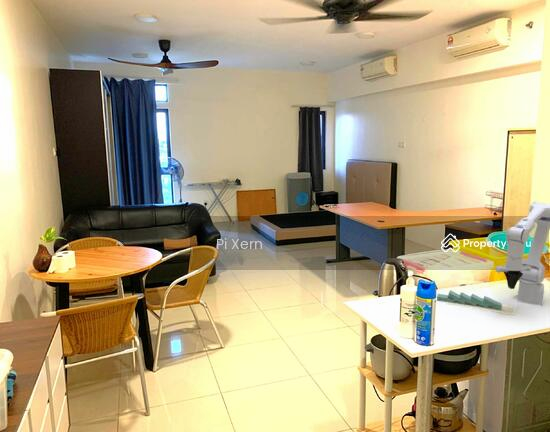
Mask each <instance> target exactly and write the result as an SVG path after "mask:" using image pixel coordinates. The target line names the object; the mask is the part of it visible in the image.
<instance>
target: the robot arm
mask: <svg viewBox="0 0 550 432" xmlns="http://www.w3.org/2000/svg"><path fill="white" fill-rule="evenodd" d="M528 209H529V211H528V212H529V213H528V214H527V216H526V217H522V218H521V219H520V220H519V221H518V222H517V223H516V224H515V225H514V226H511V227H509V228H508V229H507V232H506V235H505V236H506V238H505V239H506V245H507V251H506V252H507V253H506V259H505V264H504V265H500V266H495V273H497V274H499V273H503V274H504V276H505V279H506V281H507V282H506V283H507V287H508V289H509V290H514V289H515V287H516V285H517V284H518V283H519V284H518V289H517V291H518V292H517V295H515V298H516V301H517V302H518V303H522V304H523V303H524V304H531V305H536V306H537V305H538V306H542V307H543V299H544V295H545V294H544V293H545V285H544V283H543V282H544V279H545V276H546V267H545V266H544V264H543V263H542V262H541V260H542V255H543V253H544V249H545V246H546V242H547V239H548V236H549V233H550V203H546V202H538V201H533V202H531V204H530V205H529V208H528ZM534 228H536V229H535V233H534V234H533V238H532V243H531V245H530V248H529V251H528V255H527V257H526V258H524V251H525V244H526V243H527V242H528V239H529V237H530V233H531V232H532V231H533V230H534Z"/></svg>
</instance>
